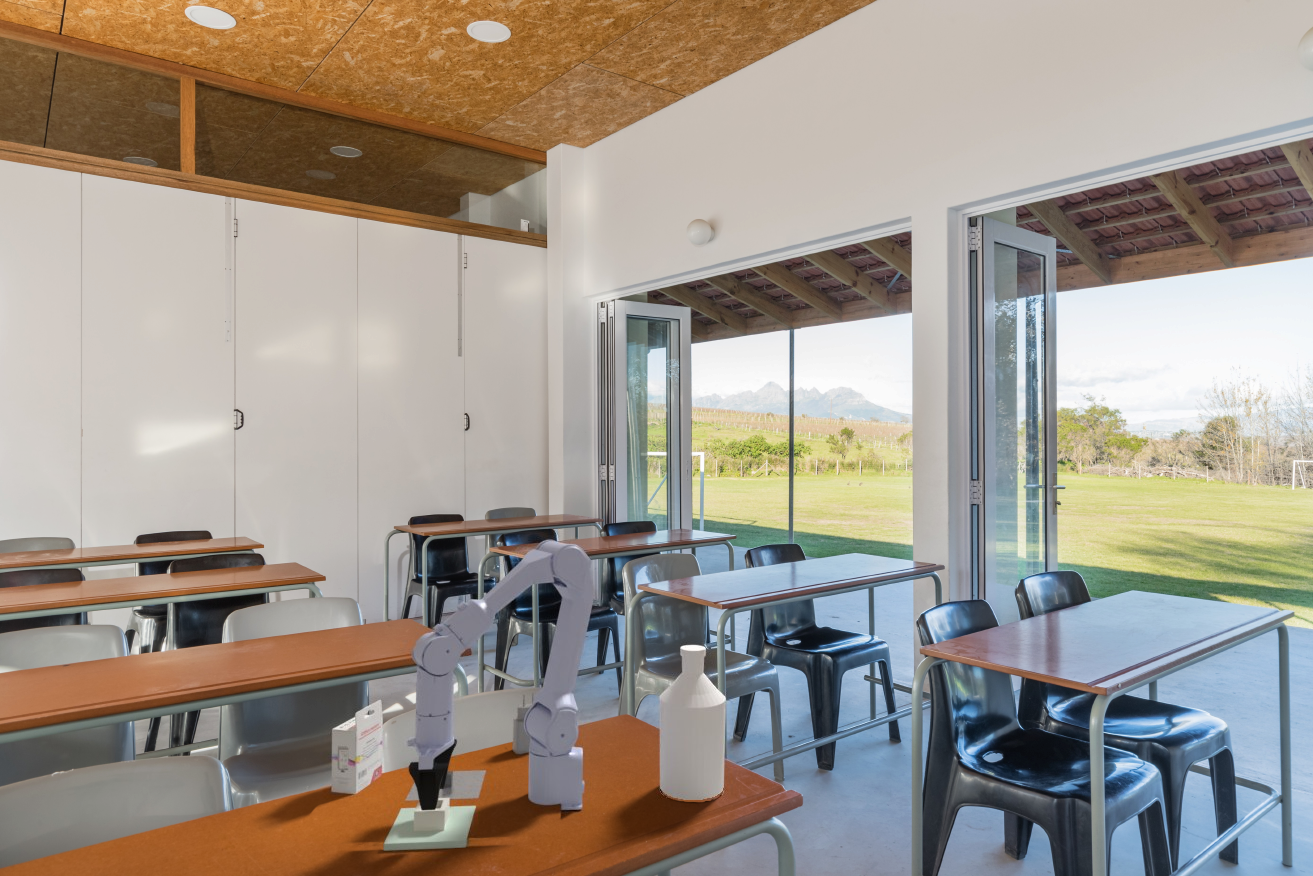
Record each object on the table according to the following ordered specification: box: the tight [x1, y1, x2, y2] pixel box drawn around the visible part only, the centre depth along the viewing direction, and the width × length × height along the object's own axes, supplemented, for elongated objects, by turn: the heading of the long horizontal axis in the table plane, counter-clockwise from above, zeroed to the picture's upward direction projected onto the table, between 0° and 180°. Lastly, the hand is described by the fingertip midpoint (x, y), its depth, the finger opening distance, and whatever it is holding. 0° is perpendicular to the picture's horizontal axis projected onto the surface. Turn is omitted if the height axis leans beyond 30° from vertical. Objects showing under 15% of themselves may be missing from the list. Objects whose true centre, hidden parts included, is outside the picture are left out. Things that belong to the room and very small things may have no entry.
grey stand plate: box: [405, 769, 487, 802], centre depth 137 cm, size 12×12×3 cm
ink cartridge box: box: [331, 699, 384, 795], centre depth 138 cm, size 9×5×15 cm, turn 168°
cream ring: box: [414, 798, 451, 831], centre depth 122 cm, size 5×5×3 cm
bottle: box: [659, 644, 727, 800], centre depth 139 cm, size 12×12×25 cm
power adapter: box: [512, 692, 535, 755], centre depth 154 cm, size 3×5×12 cm, turn 118°
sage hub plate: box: [383, 805, 477, 852], centre depth 122 cm, size 12×12×3 cm
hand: (433, 798), depth 122 cm, fingers open, 7 cm apart
